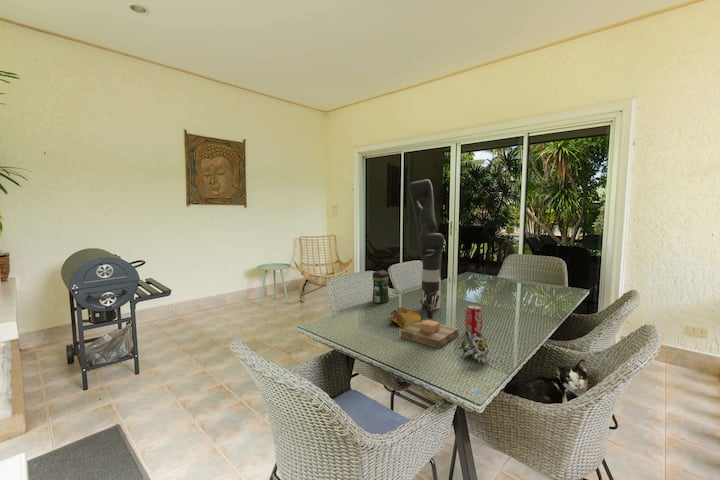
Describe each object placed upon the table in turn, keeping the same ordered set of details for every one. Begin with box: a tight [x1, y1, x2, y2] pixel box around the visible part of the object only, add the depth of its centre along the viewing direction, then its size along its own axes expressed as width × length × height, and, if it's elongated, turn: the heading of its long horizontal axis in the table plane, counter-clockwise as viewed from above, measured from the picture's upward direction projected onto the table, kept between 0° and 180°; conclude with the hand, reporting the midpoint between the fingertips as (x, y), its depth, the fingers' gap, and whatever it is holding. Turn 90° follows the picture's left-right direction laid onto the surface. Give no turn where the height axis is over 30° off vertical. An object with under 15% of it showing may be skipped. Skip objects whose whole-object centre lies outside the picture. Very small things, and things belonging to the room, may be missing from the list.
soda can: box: [464, 304, 483, 336], centre depth 151 cm, size 7×7×12 cm
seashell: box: [389, 306, 422, 329], centre depth 166 cm, size 17×8×15 cm
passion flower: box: [458, 332, 489, 364], centre depth 126 cm, size 11×11×12 cm
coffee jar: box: [372, 269, 390, 304], centre depth 201 cm, size 10×8×19 cm
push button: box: [420, 319, 440, 333], centre depth 148 cm, size 6×6×4 cm
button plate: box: [400, 319, 459, 349], centre depth 148 cm, size 18×18×3 cm
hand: (429, 318), depth 147 cm, fingers closed
